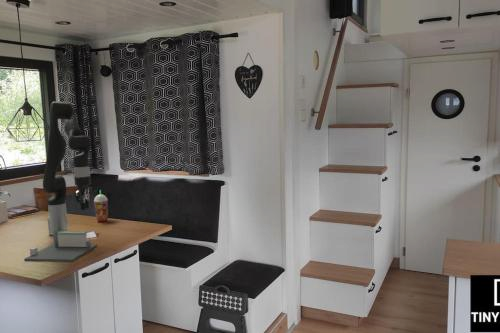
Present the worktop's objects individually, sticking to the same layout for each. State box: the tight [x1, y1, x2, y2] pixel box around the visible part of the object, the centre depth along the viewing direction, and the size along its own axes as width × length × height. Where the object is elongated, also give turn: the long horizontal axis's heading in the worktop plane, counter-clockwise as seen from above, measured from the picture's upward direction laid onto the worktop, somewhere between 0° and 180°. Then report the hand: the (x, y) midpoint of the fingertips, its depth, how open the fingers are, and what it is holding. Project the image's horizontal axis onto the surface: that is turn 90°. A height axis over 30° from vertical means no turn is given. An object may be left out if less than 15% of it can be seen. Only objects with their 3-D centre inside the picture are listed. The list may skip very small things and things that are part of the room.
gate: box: [57, 231, 88, 247], centre depth 216 cm, size 15×2×7 cm, turn 82°
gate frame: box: [23, 230, 98, 263], centre depth 210 cm, size 25×23×10 cm
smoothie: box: [93, 189, 109, 223], centre depth 273 cm, size 8×8×20 cm
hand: (85, 209), depth 220 cm, fingers open, 3 cm apart
